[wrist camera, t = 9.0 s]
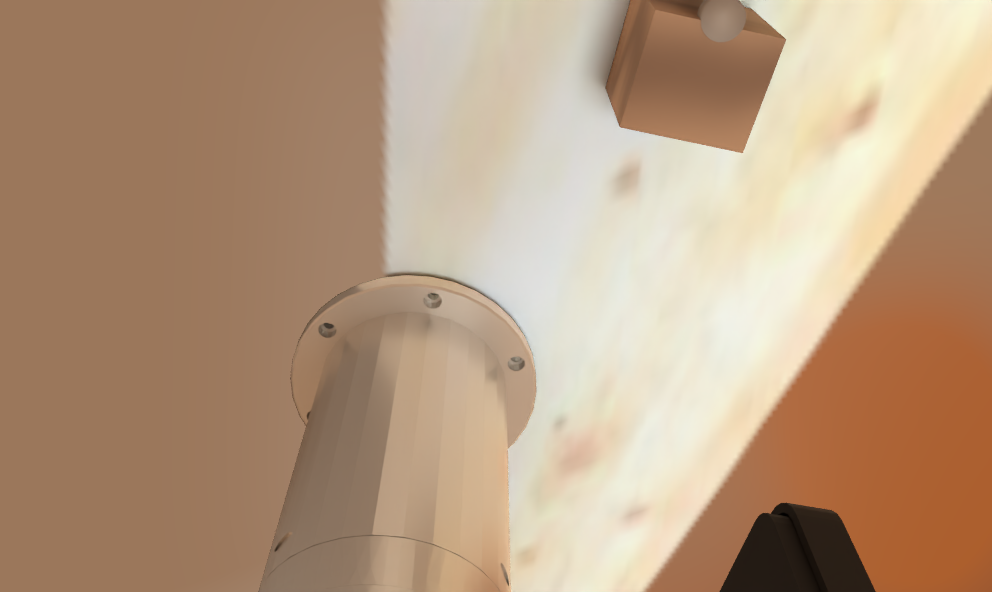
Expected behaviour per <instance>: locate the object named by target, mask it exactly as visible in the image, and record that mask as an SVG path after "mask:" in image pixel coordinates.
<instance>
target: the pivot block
mask: <svg viewBox="0 0 992 592" xmlns="http://www.w3.org/2000/svg"><path fill="white" fill-rule="evenodd" d="M785 41H786V39H785V38H784V37H783V36H782V35H781V34H779V33H778V32H777V31H776V30H775V29H774V28H773V27H771V26H770V25H769V24H768V23H767V22H766V21H765V20H763V19H762V18H761V17H760V16H759V15H758V14H757V13H756V12H754V11H753V10H752V9H750V8H746V7H744V6H743V5H742V3H741V2H740V1H738V0H630V4H629V7H628V11H627V14H626V18H625V21H624V25H623V28H622V32H621V35H620V39H619V42H618V46H617V49H616V53H615V56H614V60H613V63H612V67H611V70H610V74H609V77H608V81H607V84H606V91H607V93H608V96H609V99H610V102H611V104H612V107H613V110H614V112H615V115H616V118H617V121H618V123H619V126H620V127H621V128H626V129H631V130H636V131H640V132H645V133H650V134H655V135H659V136H664V137H669V138H674V139H678V140H683V141H688V142H693V143H697V144H702V145H707V146H712V147H716V148H721V149H726V150H731V151H735V152H740V153H743V151H744V148H745V146H746V143H747V140H748V138H749V135H750V133H751V130H752V127H753V125H754V122H755V120H756V117H757V114H758V112H759V109H760V106H761V104H762V101H763V99H764V96H765V93H766V91H767V88H768V86H769V83H770V80H771V78H772V75H773V73H774V70H775V67H776V65H777V62H778V59H779V57H780V54H781V52H782V49H783V46H784V44H785Z"/></svg>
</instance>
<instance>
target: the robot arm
mask: <svg viewBox="0 0 992 592" xmlns="http://www.w3.org/2000/svg"><path fill="white" fill-rule="evenodd" d="M430 293H435V294H437V295H431V294H430ZM329 323H330V324H329ZM290 379H291V386H292V395H293V399H294V402H295V405H296V408H297V410H298V413H299V415H300V417H301V419H302V420H303V422H304V424H305V425H306V430H305V433H304V437H303V440H302V443H301V447H300V450H299V453H298V457H297V461H296V464H295V468H294V471H293V474H292V478H291V481H290V485H289V488H288V492H287V495H286V498H285V502H284V505H283V509H282V512H281V515H280V519H279V523H278V526H277V529H276V533H275V536H274V540H273V543H272V547H271V550H270V553H269V557H268V561H267V564H266V567H265V571H264V574H263V578H262V581H261V585H260V588H259V592H511V583H510V537H509V490H508V448H509V447H510V446H512V445H513V444H514V443H515V441H516V440H517V439H518V437H519V436H520V435H521V433H522V432H523V430H524V429H525V428H526V425H527V423H528V421H529V418H530V416H531V414H532V411H533V408H534V402H535V397H536V372H535V366H534V361H533V355H532V352H531V350H530V348H529V345H528V343H527V341H526V338H525V336H524V335H523V333H522V332H521V330H520V329H519V328H518V326H517V325H516V323H515V322H514V321H513V319H512V318H511V317H510V316H509V315H508V314H507V313H506V312H504V311H503V310H502V309H501V308H500V307H499V306H498V305H497V304H496V303H494V302H493V301H491V300H490V299H488V298H486V297H485V296H483V295H482V294H480V293H479V292H477V291H475V290H472V289H470V288H467V287H465V286H463V285H460V284H458V283H455V282H452V281H447V280H443V279H439V278H434V277H429V276H412V275H402V276H393V277H383V278H379V279H375V280H372V281H368V282H365V283H361V284H358V285H356V286H354V287H352V288H350V289H348V290H346V291H344V292H342V293H340V294H338V295H337V296H335V297H334V298H333V299H332V300H331V301H329V302H328V303H327V304H325V305H324V306H323V307H321V308H320V309H319V311H318V312H317V313H316V314H315V315H314V317H313V318H312V319H311V320H310V321H309V323H308V324H307V326H306V328H305V330H304V332H303V333H302V335H301V337H300V339H299V341H298V345H297V348H296V351H295V354H294V357H293V361H292V369H291V378H290ZM720 592H875V590H874V587H873V585H872V583H871V581H870V579H869V577H868V575H867V573H866V570H865V568H864V566H863V564H862V562H861V560H860V558H859V555H858V554H857V551H856V549H855V547H854V545H853V543H852V541H851V539H850V536H849V534H848V532H847V530H846V528H845V526H844V524H843V522H842V520H841V519H840V517H839V516H838V514H837V513H835V512H834V511H832V510H826V509H821V508H814V507H808V506H802V505H796V504H790V503H780V504H779V505H777V506H776V507H775V508H774V510H773V511H772V513H771V514H769V513H762V514H761V515H759V516H758V518H757V519H756V521H755V523H754V525H753V527H752V529H751V531H750V533H749V535H748V537H747V539H746V540H745V543H744V545H743V546H742V548H741V550H740V552H739V554H738V556H737V558H736V560H735V562H734V564H733V566H732V568H731V570H730V572H729V574H728V576H727V578H726V580H725V582H724V584H723V586H722V588H721V590H720Z"/></svg>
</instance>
